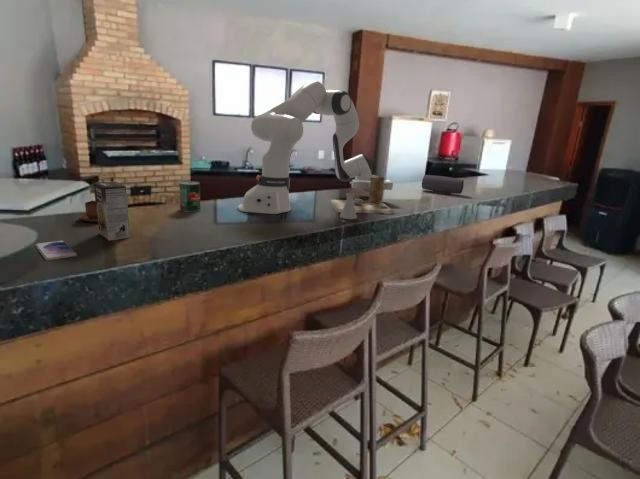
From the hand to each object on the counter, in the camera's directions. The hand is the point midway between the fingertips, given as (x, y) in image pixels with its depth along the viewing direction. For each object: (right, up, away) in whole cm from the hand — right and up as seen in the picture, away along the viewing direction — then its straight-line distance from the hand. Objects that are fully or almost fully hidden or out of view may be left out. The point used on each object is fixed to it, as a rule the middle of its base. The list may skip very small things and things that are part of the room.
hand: (375, 187), depth 187 cm
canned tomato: (-79, -13, -27) cm, 85 cm away
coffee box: (-90, -24, -65) cm, 114 cm away
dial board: (-8, -10, -5) cm, 14 cm away
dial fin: (-4, -8, -3) cm, 10 cm away
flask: (-15, -16, -25) cm, 33 cm away
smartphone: (-98, -28, -80) cm, 130 cm away
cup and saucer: (-104, -18, -49) cm, 116 cm away
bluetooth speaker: (+47, +3, +51) cm, 69 cm away
